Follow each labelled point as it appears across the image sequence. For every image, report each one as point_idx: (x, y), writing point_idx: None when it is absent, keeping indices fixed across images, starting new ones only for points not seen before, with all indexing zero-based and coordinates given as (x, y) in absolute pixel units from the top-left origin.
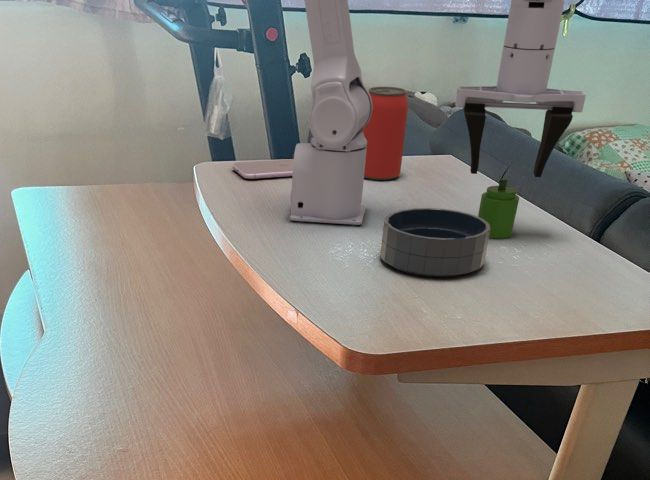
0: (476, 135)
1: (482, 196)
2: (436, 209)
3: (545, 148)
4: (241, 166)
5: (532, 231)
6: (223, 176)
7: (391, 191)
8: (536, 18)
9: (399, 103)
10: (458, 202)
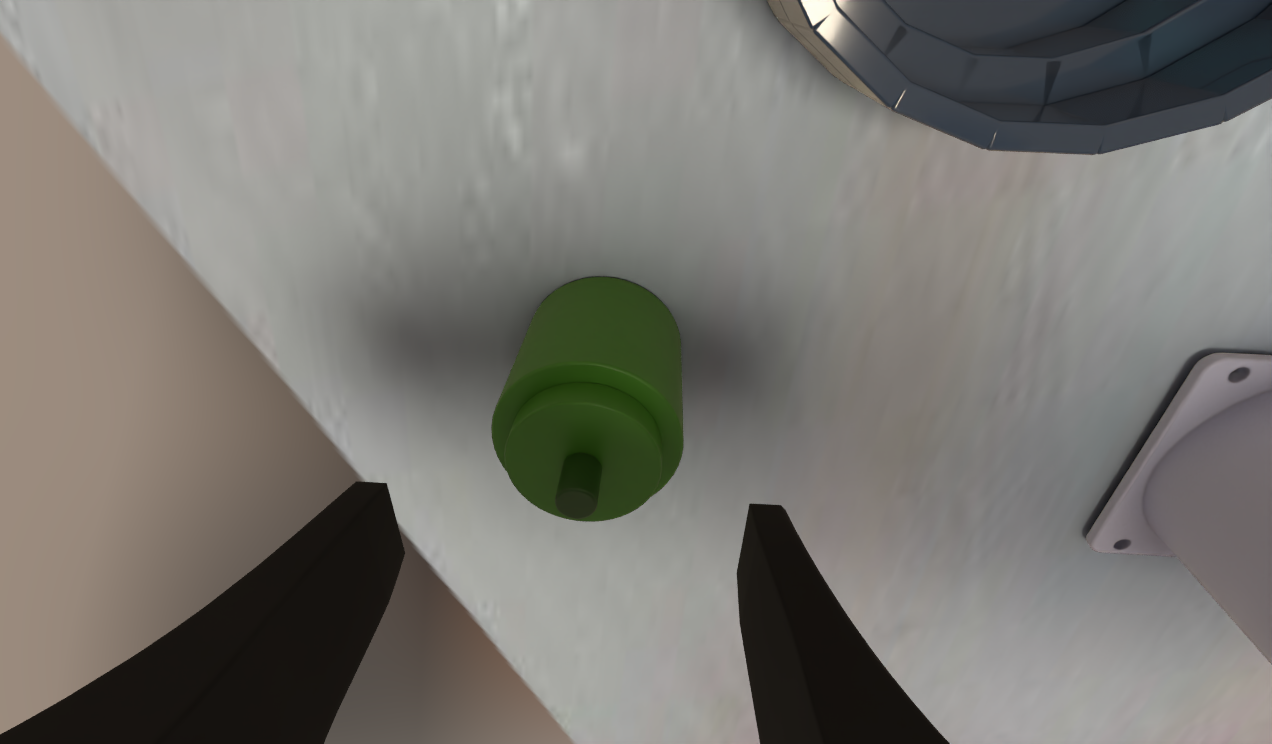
0: (872, 727)
1: (682, 429)
2: (1051, 127)
3: (253, 614)
4: None
5: (446, 391)
6: None
7: None
8: None
9: None
10: (698, 629)
